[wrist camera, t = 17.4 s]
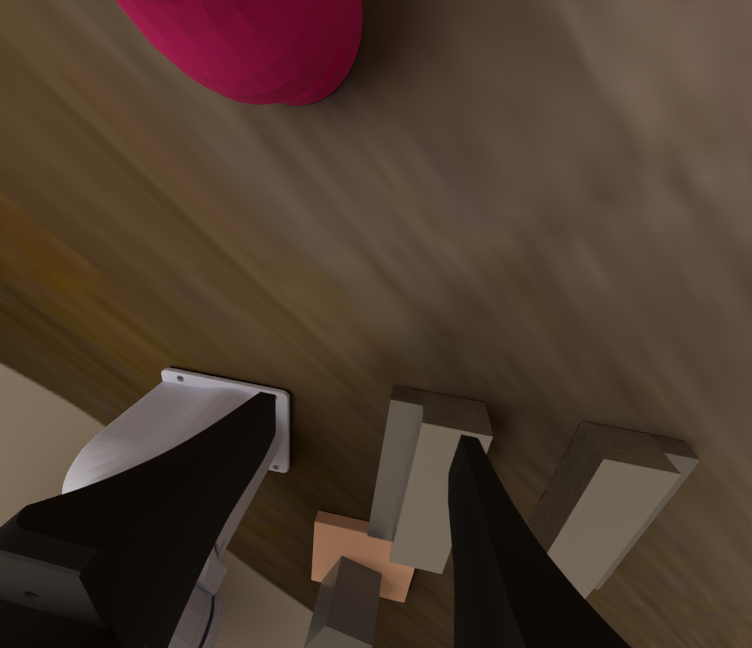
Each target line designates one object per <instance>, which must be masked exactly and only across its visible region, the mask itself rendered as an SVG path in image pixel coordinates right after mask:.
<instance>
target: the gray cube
mask: <svg viewBox="0 0 752 648" xmlns="http://www.w3.org/2000/svg"><path fill="white" fill-rule="evenodd" d="M381 578H382V573H379V572H377V571H375V570H373V569H370V568H368V567H366V566H364V565H361V564H359V563H357V562H355V561H352V560H350V559H348V558H346V557H344V556H341V557H340V558H339V560H338V561H337V562H336V563H335V565H334V566H333V567H332V568H331V570H330V571H329V572H328V573H327V575H326V576H325V577H324V578H323V580H322V582H321V586H320V589H319V593H318V597H317V601H316V605H315V608H314V612H313V616H312V620H311V623H310V627H309V631H308V635H307V638H306V642H305V646H304V648H372V647H373V642H374V634H375V626H376V618H377V610H378V602H379V594H380V586H381Z"/></svg>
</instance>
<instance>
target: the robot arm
mask: <svg viewBox="0 0 752 648" xmlns="http://www.w3.org/2000/svg"><path fill="white" fill-rule="evenodd" d="M161 375H162V380H163V382H162V383H160V384H159V385H158V386H157V387H155V388H154V389H153V390H152V391H150V392H149V393H148V394H147V395H145V396H144V397H143V398H142V399H140V400H139V401H138V402H137V403H135V404H134V405H133V406H132V407H130V408H129V409H128V410H127V411H125V412H124V413H123V414H122V415H120V416H119V417H118V418H117V419H115V420H114V421H113V422H112V423H110V424H109V425H108V426H107V427H106V428H104V429H103V430H102V431H101V432H99V433H98V434H97V435H96V436H95V437H94V438H93V439H91V440H90V442H88V444H87V445H86V446H85V447H84V448H83V450H82V451H81V452H80V453H79V455H78V456H77V457H76V459H75V460H74V462H73V464H72V466H71V467H70V469H69V471H68V473H67V475H66V478H65V481H64V484H63V489H62V494H61V495H59V496H56V497H53V498H49V499H46V500H43V501H40V502H37V503H33V504H30V505H27V506H25V507H24V508H23V509H22V510H21V511H19V512H18V513H17V514H16V515H14V516H13V517H12V518H11V519H10V520H9V521H7V522H6V523H5V524H4V525H3V526H1V527H0V648H217V647H218V643H219V639H220V635H221V628H222V623H223V616H224V601H223V598H222V596H221V595H220V593H219V592H218V591H217V590H218V588H219V586H220V584H221V582H222V580H223V578H224V576H225V574H226V572H227V568H226V567H224V566H223V565H222V564H221V562H220V561H219V560H220V558H221V556H222V554H223V553H224V551H225V549H226V547H227V545H228V543H229V541H230V540H231V538H232V536H233V534H234V532H235V530H236V528H237V527H238V525H239V523H240V521H241V519H242V517H243V515H244V514H245V512H246V510H247V508H248V506H249V504H250V502H251V501H252V499H253V497H254V495H255V493H256V491H257V489H258V488H259V486H260V484H261V482H262V480H263V478H264V477H265V475H266V473H267V471H268V470H272V471H277V472H281V473H285V472H287V471H288V469H289V467H290V396H289V394H288V393H287V392H286V391H284V390H280V389H275V388H270V387H265V386H260V385H255V384H250V383H244V382H239V381H234V380H229V379H224V378H219V377H214V376H209V375H204V374H199V373H194V372H189V371H184V370H179V369H174V368H165V369H164V370H163V371H162V372H161ZM181 376H182V377H183V378H182V377H181ZM276 396H277V397H276ZM448 509H449V520H450V532H451V543H452V554H453V565H454V600H455V619H454V648H631V647H630V646H629V645H628V644H627V643H626V642H625V641H624V640H623V639H622V638H621V637H620V636H619V635H618V634H617V633H616V632H615V631H614V630H613V629H612V628H611V627H610V626H609V625H608V624H607V623H606V622H605V621H604V620H603V618H602V617H601V616H600V615H599V614H598V613H597V612H596V611H595V610H594V609H593V608H592V606H591V605H590V604H589V603H588V602H587V601H586V600H585V599H584V598H583V596H582V595H581V594H580V593H579V592H578V591H577V589H576V588H575V587H574V586H573V585H572V583H571V582H570V581H569V580H568V579H567V577H566V576H565V575H564V574H563V573H562V571H561V570H560V569H559V568H558V567H557V565H556V564H555V563H554V562H553V560H552V559H551V558H550V556H549V555H548V554H547V552H546V551H545V550H544V548H543V547H542V546H541V544H540V543H539V542H538V540H537V539H536V537H535V536H534V535H533V533H532V532H531V530H530V529H529V527H528V526H527V524H526V523H525V521H524V520H523V518H522V517H521V515H520V513H519V512H518V510H517V509H516V507H515V505H514V504H513V502H512V500H511V499H510V497H509V495H508V494H507V492H506V490H505V488H504V487H503V485H502V483H501V481H500V480H499V478H498V476H497V474H496V472H495V470H494V468H493V466H492V465H491V463H490V461H489V459H488V457H487V455H486V453H485V451H484V448H483V446H482V444H481V442H480V440H479V439H478V438H476V437H472V436H467V435H462V434H461V436H460V439H459V442H458V445H457V448H456V451H455V454H454V457H453V460H452V463H451V466H450V469H449V472H448Z"/></svg>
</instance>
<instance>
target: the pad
mask: <svg viewBox="0 0 752 648" xmlns="http://www.w3.org/2000/svg"><path fill="white" fill-rule="evenodd" d="M368 527H369V522H367V521H363V520H358V519H354V518H350V517H345V516H341V515H336V514H332V513H328V512H323V511H319V510H318V513H317V516H316V519H315V525H314V543H313V560H312V578H311V580H314V581H318V582H322V580H323V578H324V577H325V576H326V575H327V573H328V572H329V571H330V570H331V568H332V567H333V566H334V565H335V563H336V562H337V561H338V560H339V558H340V557H341V556H344V557H346V558H348V559H350V560H352V561H355V562H357V563H359V564H361V565H364V566H366V567H368V568H370V569H373V570H375V571H377V572H379V573H382V578H381V586H380V594H379V597H383V598H387V599H391V600H395V601H399V602H403V603H404V602H405V598H406V595H407V592H408V589H409V585H410V582H411V579H412V575H413V572H414V569H415V568H414V567H410V566H405V565H401V564H397V563H393V562H389V558H390V549H391V542H390V541H386V540H382V539H378V538H373V537H369V536H367V532H368Z"/></svg>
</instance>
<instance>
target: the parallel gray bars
mask: <svg viewBox="0 0 752 648" xmlns="http://www.w3.org/2000/svg"><path fill="white" fill-rule="evenodd" d="M461 434H462V435H467V436H472V437H476V438H478V439H479V440H480V442H481V444H482V446H483V448H484V451H485V453H486V454H487V451H488V449H489V446H490V443H491V441H492V438H493V435H492V431H491V426H490V422H489V417H488V413H487V408H486V403H484V402H479V401H474V400H468V399H463V398H458V397H453V396H447V395H442V394H437V393H432V392H426V391H421V390H416V389H411V388H406V387H400V386H395V385H393V390H392V395H391V401H390V407H389V412H388V418H387V424H386V430H385V435H384V441H383V447H382V452H381V458H380V464H379V470H378V475H377V481H376V487H375V492H374V498H373V504H372V510H371V515H370V521H369V527H368V532H367V536H369V537H373V538H378V539H382V540H386V541H390V542H391V549H390V558H389V562H393V563H397V564H401V565H405V566H410V567H414V568H418V569H422V570H426V571H431V572H435V573H439V574H442V572H443V569H444V566H445V564H446V561H447V558H448V556H449V553H450V550H451V548H452V543H451V532H450V520H449V509H448V472H449V469H450V466H451V463H452V460H453V457H454V454H455V451H456V448H457V445H458V442H459V439H460V436H461ZM699 462H700V459H699V457H698V456H697V455H696V454H695V453H694V452H693V451H692V450H691V449H690V448H689V446H688V445H687V444H686V443H685V442H684V441H683V440H678V439H672V438H667V437H662V436H657V435H651V434H646V433H641V432H636V431H631V430H625V429H620V428H615V427H610V426H604V425H599V424H594V423H589V422H583V421H582V422H581V424H580V426H579V428H578V430H577V431H576V433H575V435H574V437H573V439H572V441H571V443H570V445H569V447H568V449H567V451H566V453H565V454H564V456H563V458H562V460H561V462H560V464H559V466H558V468H557V470H556V472H555V474H554V476H553V477H552V479H551V481H550V483H549V485H548V487H547V489H546V491H545V493H544V495H543V497H542V499H541V501H540V502H539V504H538V506H537V508H536V510H535V512H534V514H533V516H532V518H531V520H530V522H529V524H528V525H527V526H528V527H529V529H530V530H531V532H532V533H533V535H534V536H535V537H536V539H537V540H538V542H539V543H540V544H541V546H542V547H543V548H544V550H545V551H546V552H547V554H548V555H549V556H550V558H551V559H552V560H553V562H554V563H555V564H556V565H557V567H558V568H559V569H560V570H561V571H562V573H563V574H564V575H565V576H566V577H567V579H568V580H569V581H570V582H571V583H572V585H573V586H574V587H575V588H576V589H577V591H578V592H579V593H580V594H581V595H582V596H583V598H584V599H586V597H587V596H588V595H589V593H590V592H591V591H592V590H593V589H598V590H599V589H600V588H601V586H602V585H603V584H604V582H605V581H606V580H607V579H608V577H609V576H610V575H611V574H612V572H613V571H614V570H615V568H616V567H617V566H618V565H619V563H620V562H621V561H622V560H623V558H624V557H625V556H626V554H627V553H628V552H629V551H630V549H631V548H632V547H633V546H634V544H635V543H636V542H637V540H638V539H639V538H640V537H641V535H642V534H643V533H644V532H645V530H646V529H647V528H648V526H649V525H650V524H651V523H652V521H653V520H654V519H655V518H656V516H657V515H658V514H659V512H660V511H661V510H662V509H663V507H664V506H665V505H666V504H667V502H668V501H669V500H670V498H671V497H672V496H673V495H674V493H675V492H676V491H677V490H678V488H679V487H680V486H681V485H682V483H683V482H684V481H685V479H686V478H687V477H688V476H689V474H690V473H691V472H692V471H693V469H694V468H695V467H696V465H697V464H698V463H699Z"/></svg>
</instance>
